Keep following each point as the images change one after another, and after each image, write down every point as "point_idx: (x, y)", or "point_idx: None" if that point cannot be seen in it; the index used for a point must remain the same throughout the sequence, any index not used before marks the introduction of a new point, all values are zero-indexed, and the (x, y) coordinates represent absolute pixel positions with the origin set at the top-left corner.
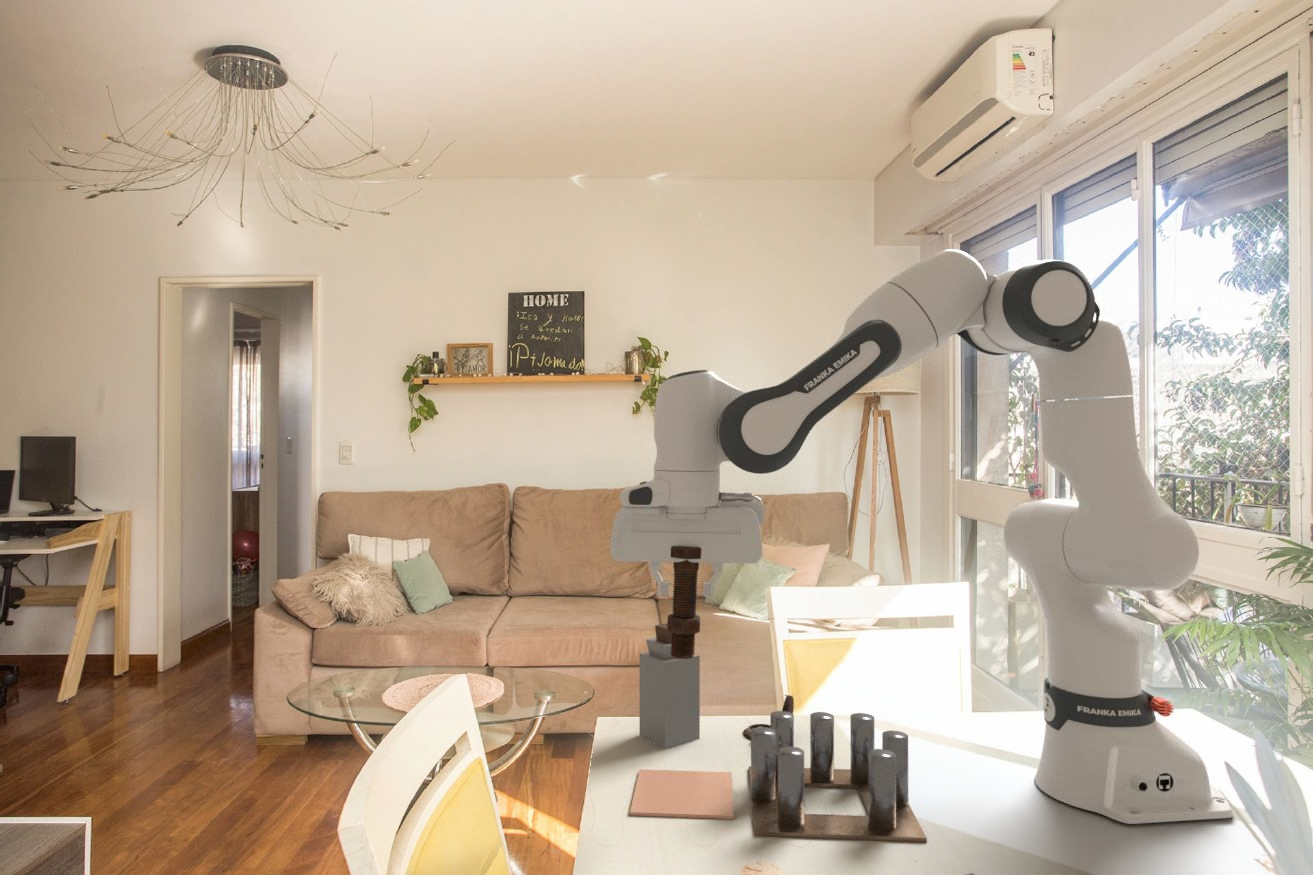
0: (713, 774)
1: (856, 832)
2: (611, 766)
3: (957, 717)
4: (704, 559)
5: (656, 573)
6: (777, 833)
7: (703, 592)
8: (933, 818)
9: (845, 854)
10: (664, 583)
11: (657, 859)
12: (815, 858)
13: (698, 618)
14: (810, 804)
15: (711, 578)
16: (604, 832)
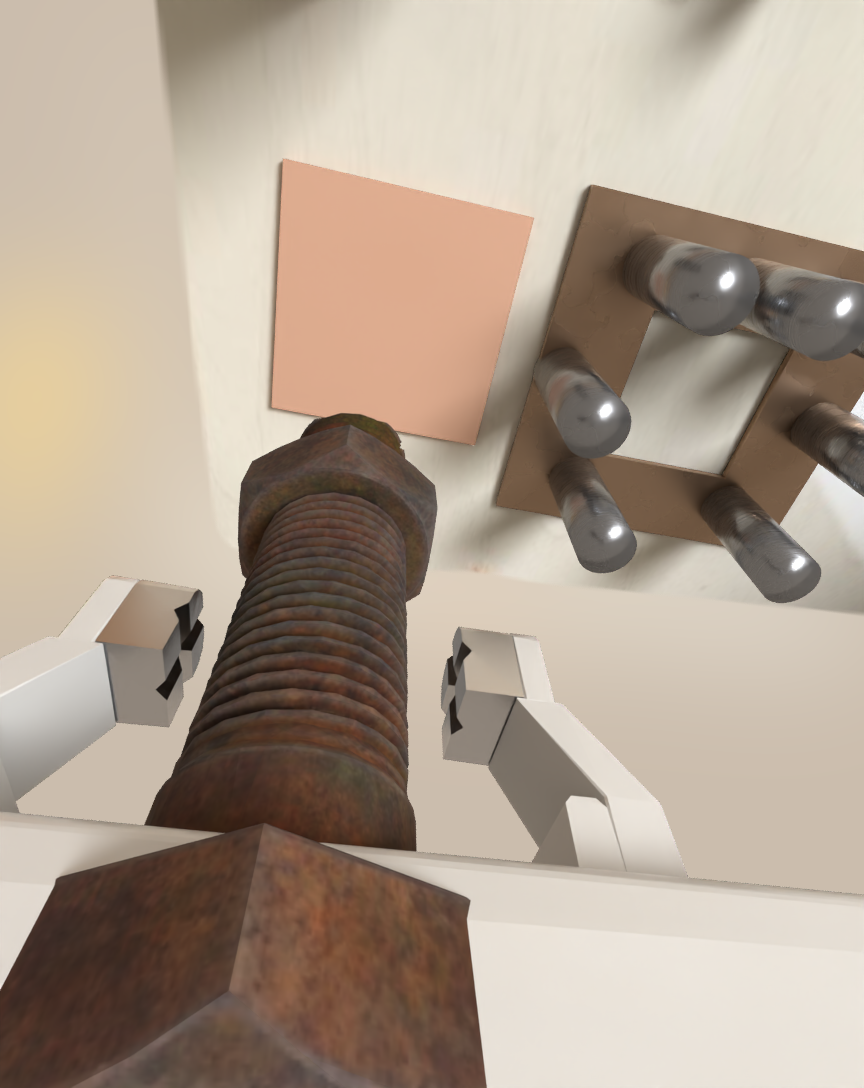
0: (482, 227)
1: (663, 526)
2: (196, 94)
3: None
4: None
5: (17, 795)
6: (532, 511)
7: (444, 706)
8: (835, 481)
9: None
10: (134, 719)
11: None
12: (563, 569)
13: (413, 590)
14: (647, 402)
15: (526, 755)
16: (231, 462)
